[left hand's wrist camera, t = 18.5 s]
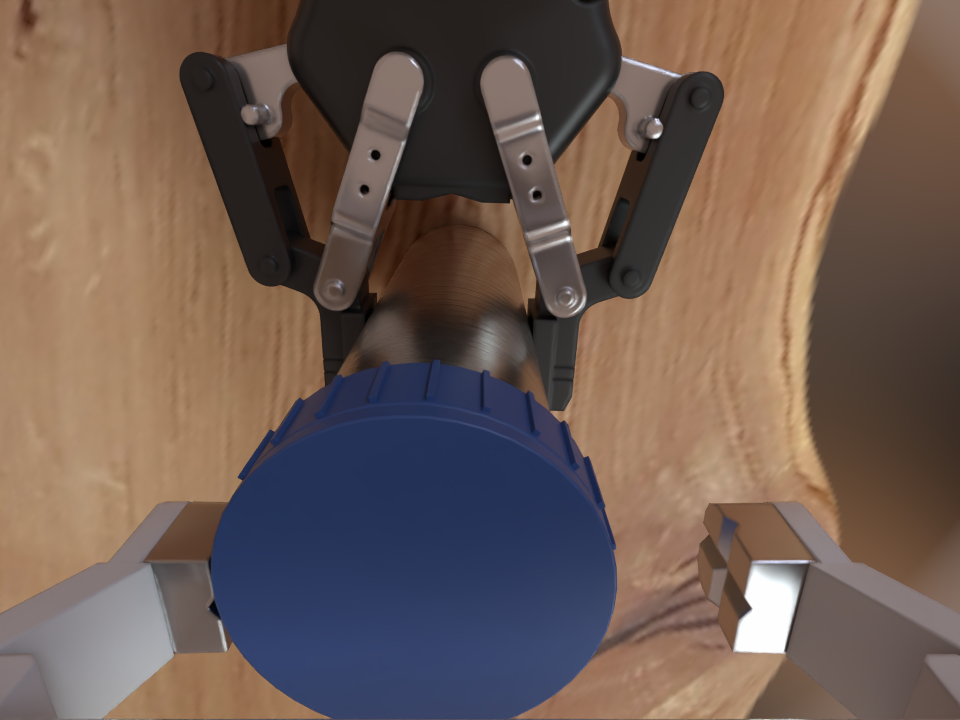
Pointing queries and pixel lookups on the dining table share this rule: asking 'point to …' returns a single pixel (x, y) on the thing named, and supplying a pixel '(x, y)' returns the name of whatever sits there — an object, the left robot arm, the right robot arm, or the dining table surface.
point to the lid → (416, 549)
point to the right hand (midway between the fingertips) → (450, 411)
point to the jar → (453, 312)
